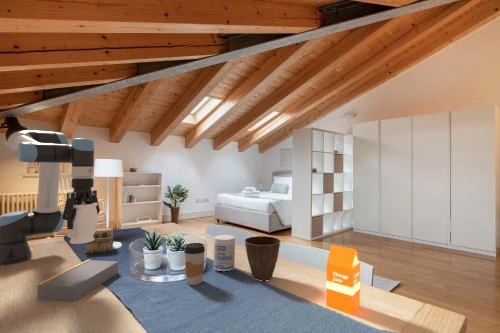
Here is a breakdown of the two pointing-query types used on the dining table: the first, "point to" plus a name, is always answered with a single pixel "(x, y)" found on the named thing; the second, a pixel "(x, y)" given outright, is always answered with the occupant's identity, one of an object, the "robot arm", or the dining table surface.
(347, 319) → the dining table surface
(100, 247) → the wicker basket
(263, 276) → the plant pot
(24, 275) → the dining table surface
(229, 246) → the supplement tub
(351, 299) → the orange juice
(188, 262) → the coffee cup
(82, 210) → the jar
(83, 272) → the dock
